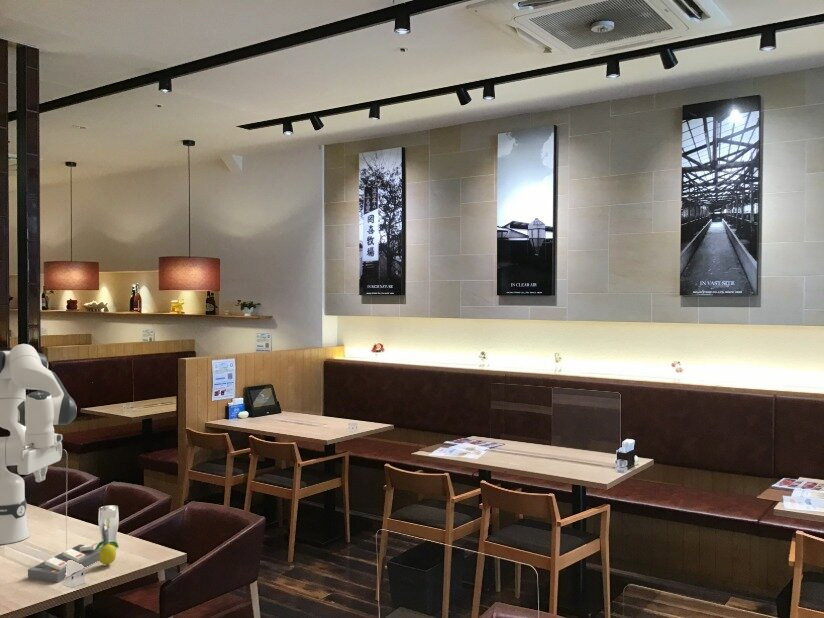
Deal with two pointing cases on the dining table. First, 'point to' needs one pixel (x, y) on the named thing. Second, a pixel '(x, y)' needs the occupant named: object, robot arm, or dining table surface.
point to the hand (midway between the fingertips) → (40, 481)
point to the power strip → (55, 575)
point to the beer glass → (108, 523)
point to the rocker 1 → (56, 563)
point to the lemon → (107, 552)
